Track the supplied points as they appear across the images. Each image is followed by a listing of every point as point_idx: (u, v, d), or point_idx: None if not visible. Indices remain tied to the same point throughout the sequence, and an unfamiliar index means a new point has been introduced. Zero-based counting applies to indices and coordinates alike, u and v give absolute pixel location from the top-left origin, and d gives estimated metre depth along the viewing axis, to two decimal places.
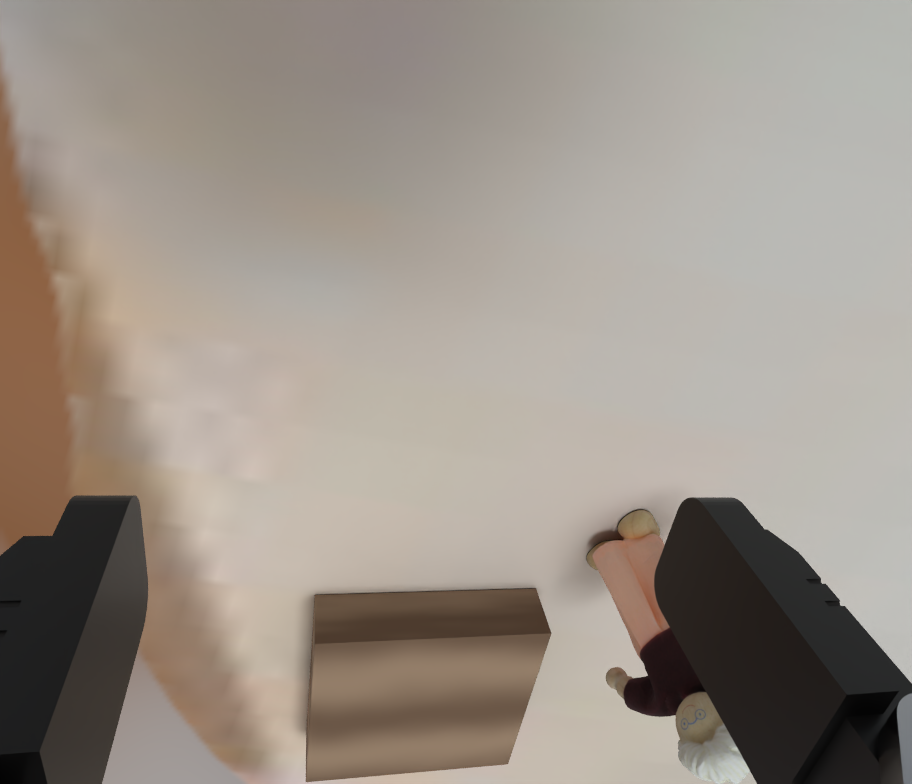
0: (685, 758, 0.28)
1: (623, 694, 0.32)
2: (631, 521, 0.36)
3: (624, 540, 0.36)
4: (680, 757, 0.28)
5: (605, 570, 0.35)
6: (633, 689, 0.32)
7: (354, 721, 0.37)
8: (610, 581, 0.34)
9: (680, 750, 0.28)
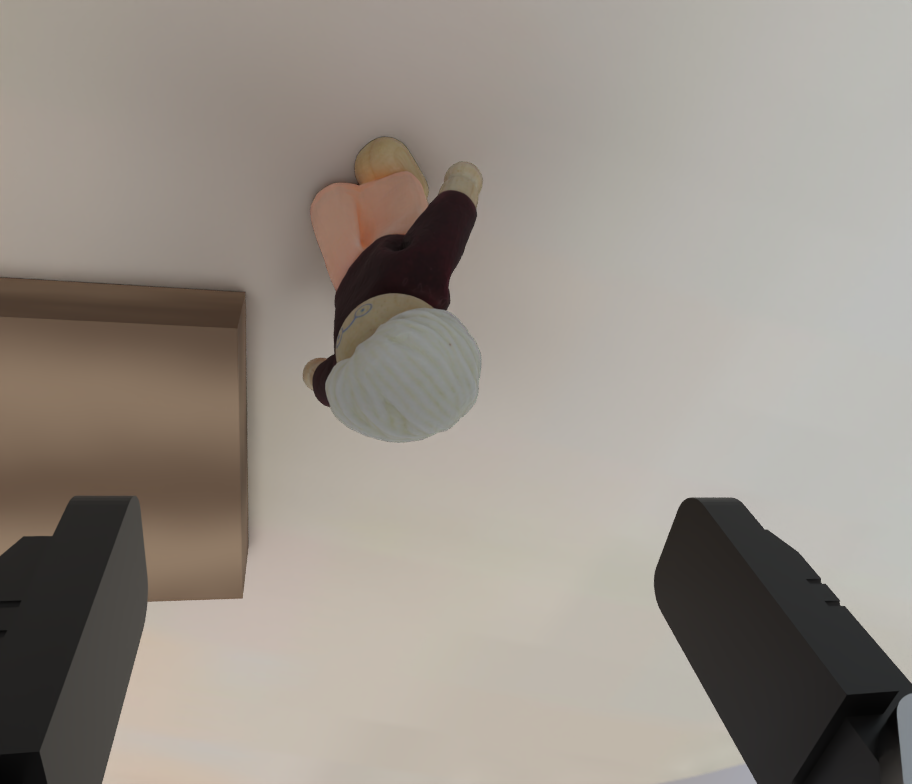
0: (326, 388, 0.14)
1: (312, 382, 0.19)
2: (369, 150, 0.22)
3: (360, 185, 0.22)
4: None
5: (316, 214, 0.21)
6: (323, 365, 0.18)
7: None
8: (318, 224, 0.21)
9: None
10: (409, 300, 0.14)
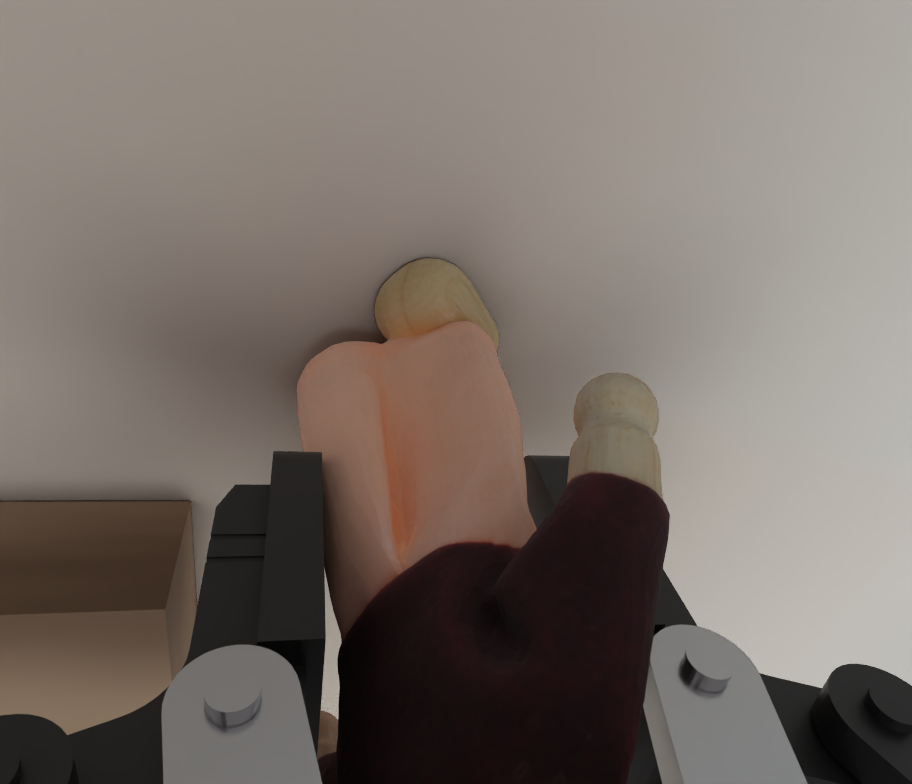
0: None
1: None
2: (401, 285, 0.12)
3: (385, 343, 0.13)
4: None
5: (305, 413, 0.12)
6: None
7: None
8: (308, 439, 0.11)
9: None
10: None
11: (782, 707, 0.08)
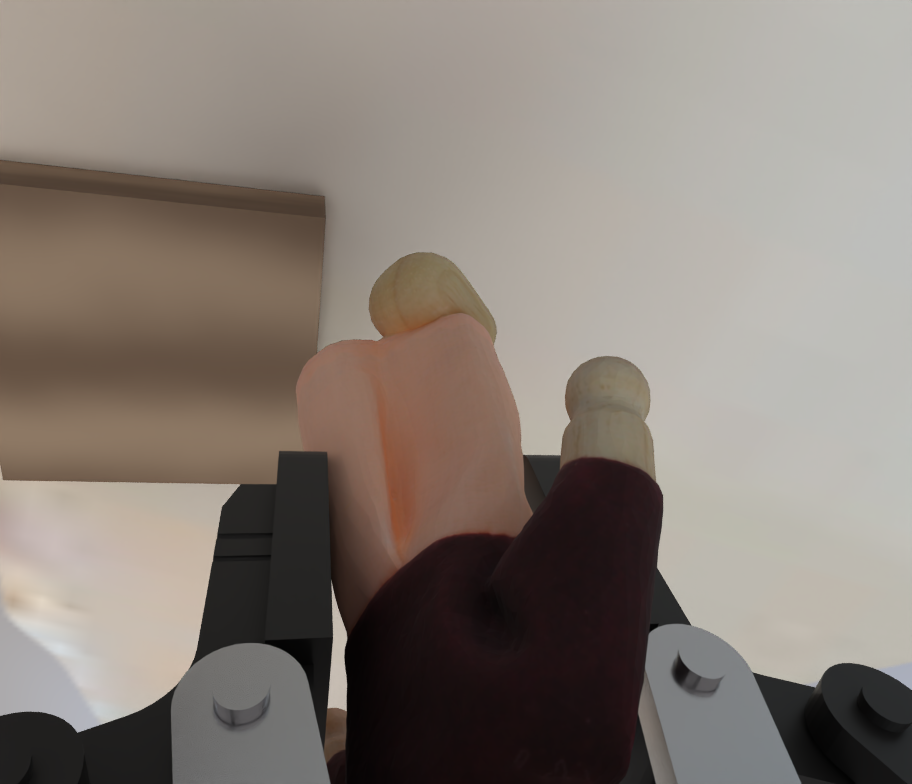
0: None
1: None
2: (393, 281, 0.12)
3: (381, 340, 0.13)
4: None
5: (304, 414, 0.12)
6: None
7: (51, 362, 0.25)
8: (308, 440, 0.11)
9: None
10: None
11: (775, 706, 0.08)
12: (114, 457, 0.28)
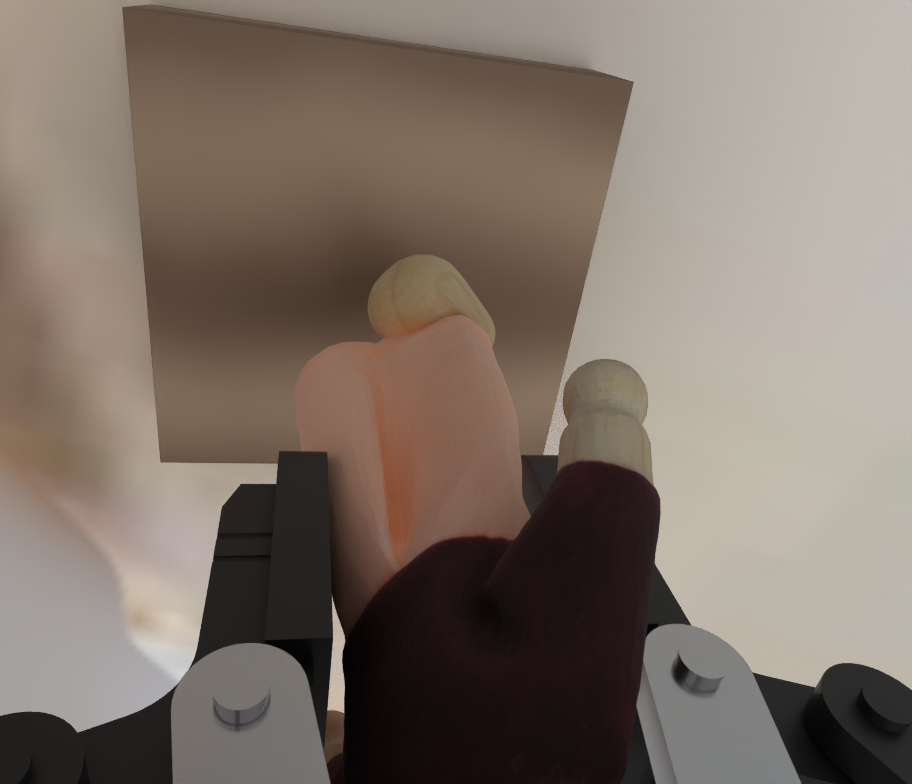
0: None
1: None
2: (391, 282, 0.12)
3: (380, 342, 0.13)
4: None
5: (303, 416, 0.12)
6: None
7: (240, 295, 0.18)
8: (306, 442, 0.11)
9: None
10: None
11: (775, 706, 0.08)
12: None
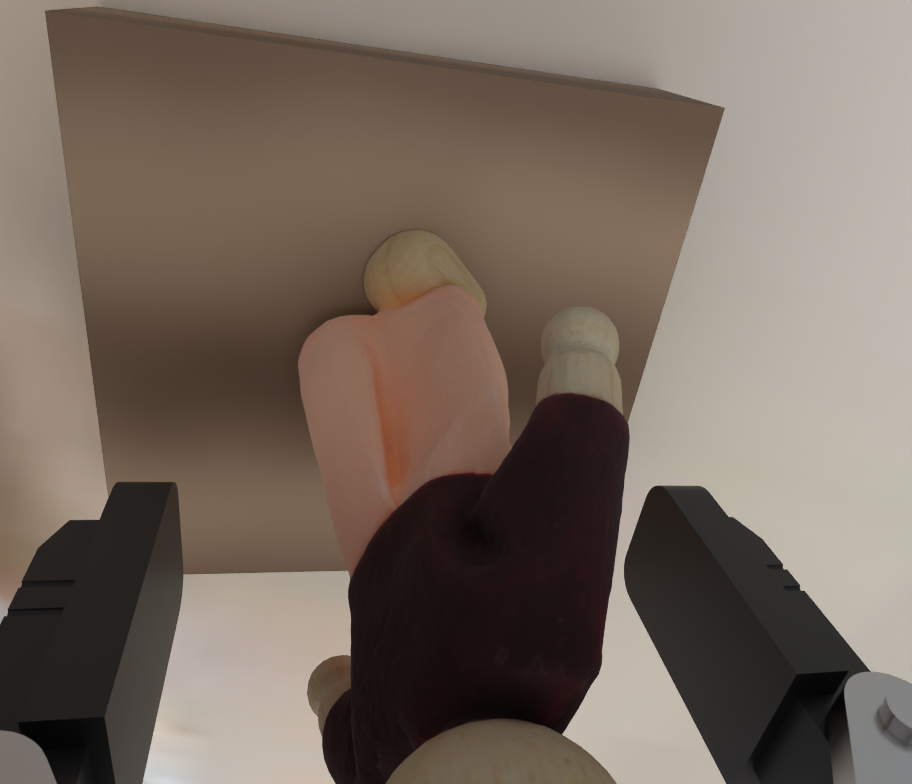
0: None
1: (323, 742, 0.10)
2: (384, 258, 0.13)
3: (376, 315, 0.13)
4: None
5: (306, 385, 0.12)
6: (340, 722, 0.09)
7: (215, 378, 0.14)
8: (310, 408, 0.12)
9: None
10: None
11: None
12: (299, 534, 0.17)
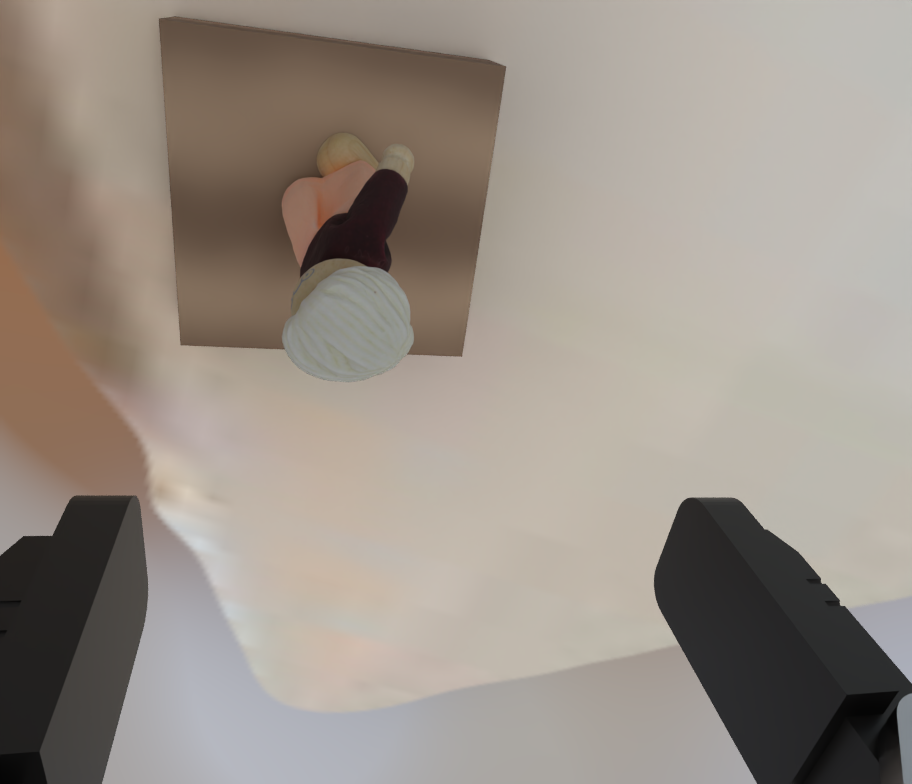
0: (283, 341, 0.17)
1: None
2: (326, 146, 0.25)
3: (323, 177, 0.25)
4: None
5: (284, 207, 0.24)
6: None
7: (237, 218, 0.26)
8: (286, 215, 0.24)
9: None
10: (345, 262, 0.17)
11: None
12: (285, 322, 0.29)
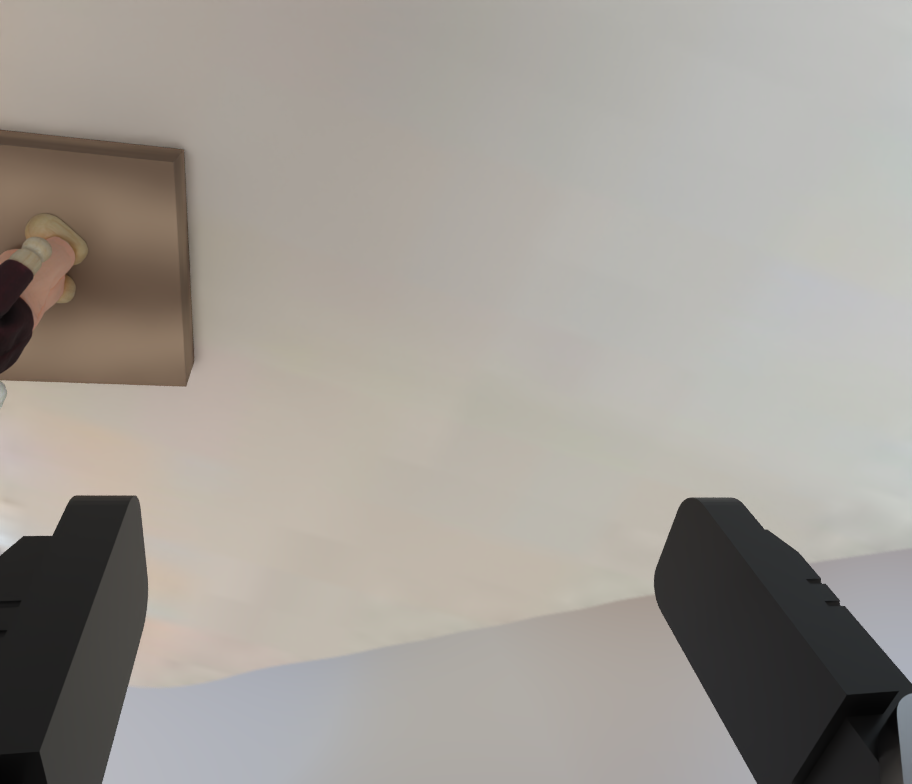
0: None
1: None
2: (28, 225, 0.32)
3: None
4: None
5: None
6: None
7: None
8: None
9: None
10: None
11: None
12: (24, 359, 0.35)
